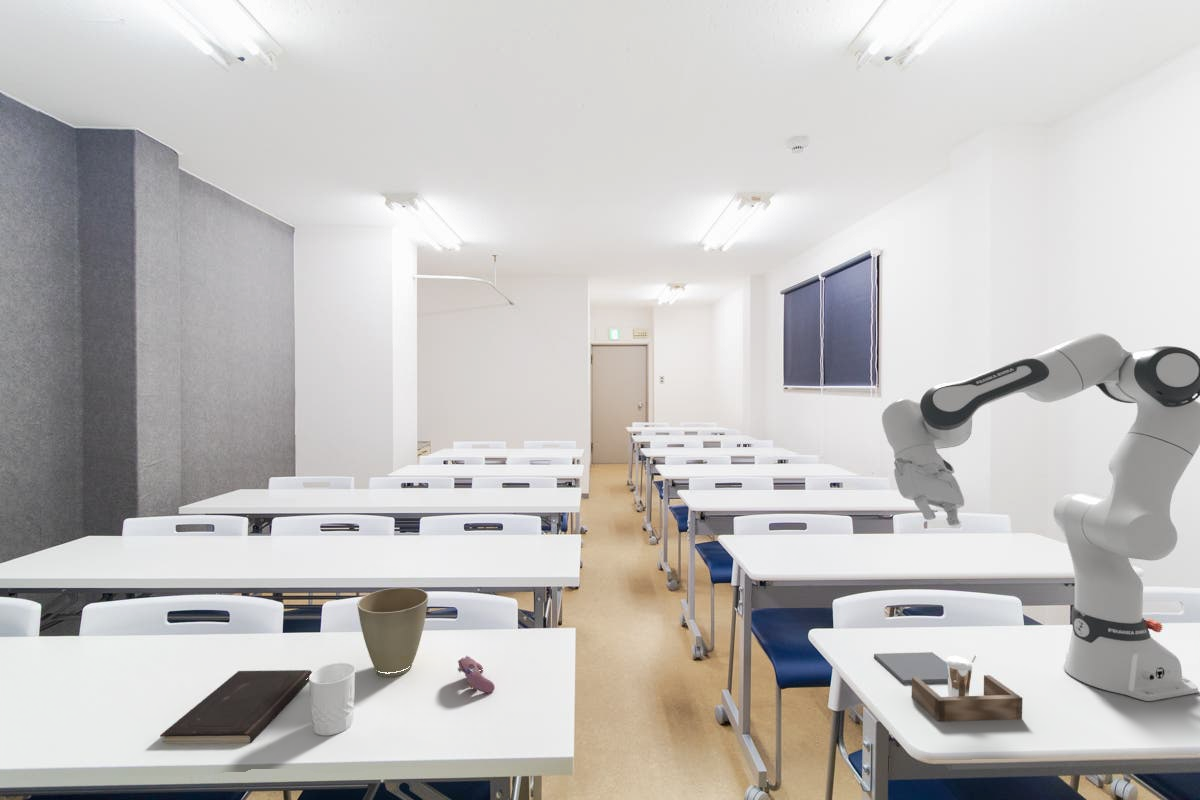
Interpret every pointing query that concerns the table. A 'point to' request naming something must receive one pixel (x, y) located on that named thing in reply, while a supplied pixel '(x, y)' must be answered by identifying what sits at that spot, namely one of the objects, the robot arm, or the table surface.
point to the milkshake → (958, 675)
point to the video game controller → (475, 675)
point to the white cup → (332, 698)
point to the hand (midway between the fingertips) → (943, 522)
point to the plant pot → (393, 627)
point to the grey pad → (915, 666)
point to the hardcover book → (238, 708)
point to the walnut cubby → (970, 702)
